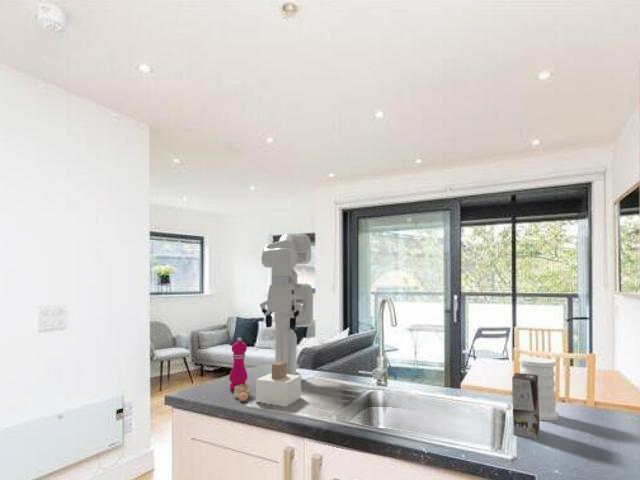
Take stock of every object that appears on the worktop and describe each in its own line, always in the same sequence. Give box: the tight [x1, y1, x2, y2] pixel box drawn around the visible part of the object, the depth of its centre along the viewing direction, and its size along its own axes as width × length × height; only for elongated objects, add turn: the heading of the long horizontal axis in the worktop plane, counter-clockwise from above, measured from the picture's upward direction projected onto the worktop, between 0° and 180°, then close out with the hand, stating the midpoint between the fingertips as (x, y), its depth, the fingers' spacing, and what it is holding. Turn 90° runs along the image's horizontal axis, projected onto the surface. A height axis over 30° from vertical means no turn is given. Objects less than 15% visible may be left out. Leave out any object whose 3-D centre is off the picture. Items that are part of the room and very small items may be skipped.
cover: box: [255, 362, 302, 408], centre depth 152 cm, size 12×12×13 cm
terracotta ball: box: [238, 392, 249, 402], centre depth 149 cm, size 3×3×3 cm
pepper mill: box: [228, 337, 248, 391], centre depth 167 cm, size 7×7×20 cm
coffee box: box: [511, 372, 540, 440], centre depth 123 cm, size 9×6×16 cm
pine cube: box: [233, 384, 251, 399], centre depth 155 cm, size 4×4×4 cm
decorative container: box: [518, 356, 560, 421], centre depth 139 cm, size 12×12×18 cm
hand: (280, 327), depth 153 cm, fingers open, 9 cm apart
